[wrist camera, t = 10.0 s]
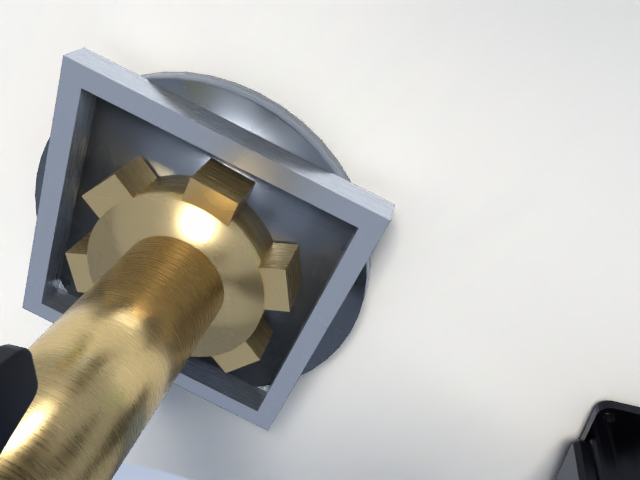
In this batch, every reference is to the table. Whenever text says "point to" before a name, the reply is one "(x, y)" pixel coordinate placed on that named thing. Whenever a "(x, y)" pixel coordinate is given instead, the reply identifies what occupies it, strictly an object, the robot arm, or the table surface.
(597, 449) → the robot arm
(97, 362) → the planet gear
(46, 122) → the table surface
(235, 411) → the carrier plate
